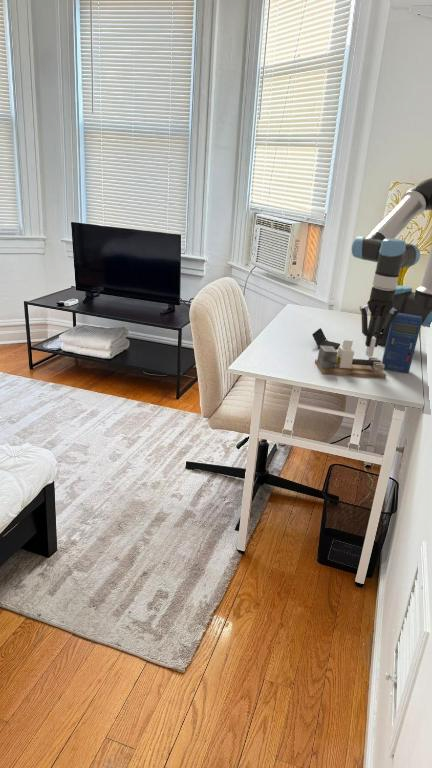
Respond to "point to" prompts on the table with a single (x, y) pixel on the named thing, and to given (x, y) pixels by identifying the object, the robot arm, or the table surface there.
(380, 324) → the robot arm
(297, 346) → the table surface
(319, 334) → the handheld gaming console
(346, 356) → the flanged slider block
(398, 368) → the electronic device
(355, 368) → the comb board
